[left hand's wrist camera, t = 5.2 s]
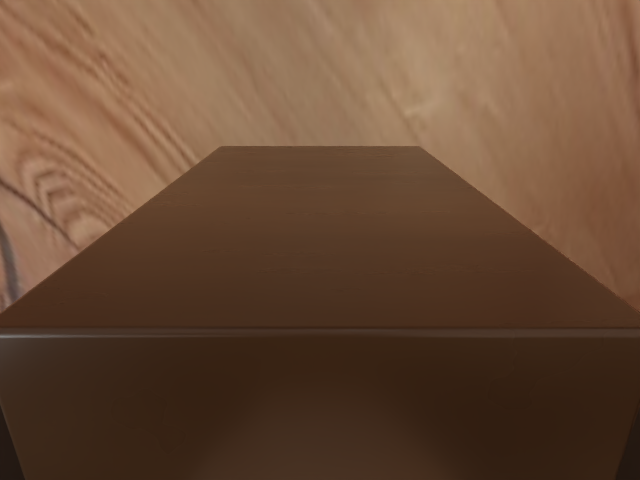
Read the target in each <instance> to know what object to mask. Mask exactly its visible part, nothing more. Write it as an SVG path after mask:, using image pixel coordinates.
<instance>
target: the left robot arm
mask: <svg viewBox="0 0 640 480" xmlns="http://www.w3.org/2000/svg"><path fill="white" fill-rule="evenodd" d="M0 480H25V478H24V475H23V472H22V469H21V466H20V463H19V460H18V457H17V454H16V451H15V448H14V445H13V442H12V439H11V436H10V433H9V430H8V427H7V424H6V421H5V418H4V415H3V412H2V409H1V406H0ZM616 480H640V408H639V411H638V414H637V417H636V420H635V423H634V426H633V429H632V432H631V435H630V438H629V441H628V444H627V447H626V450H625V453H624V456H623V459H622V462H621V465H620V468H619V471H618V474H617V477H616Z"/></svg>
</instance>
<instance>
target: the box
mask: <svg viewBox="0 0 640 480" xmlns="http://www.w3.org/2000/svg"><path fill="white" fill-rule="evenodd" d="M0 406H1V409H2V412H3V415H4V418H5V421H6V424H7V427H8V430H9V433H10V436H11V439H12V442H13V445H14V448H15V451H16V454H17V457H18V460H19V463H20V466H21V469H22V472H23V475H24V478H25V480H616V477H617V474H618V471H619V468H620V465H621V462H622V459H623V456H624V453H625V450H626V447H627V444H628V441H629V438H630V435H631V432H632V429H633V426H634V423H635V420H636V417H637V414H638V411H639V408H640V312H638V311H637V310H636V309H634V308H633V307H632V306H630V305H629V304H628V303H626V302H625V301H624V300H622V299H621V298H620V297H618V296H617V295H616V294H614V293H613V292H612V291H610V290H609V289H608V288H606V287H605V286H604V285H603V284H601V283H600V282H599V281H597V280H596V279H595V278H593V277H592V276H591V275H589V274H588V273H587V272H585V271H584V270H583V269H581V268H580V267H579V266H577V265H576V264H575V263H573V262H572V261H571V260H569V259H568V258H567V257H565V256H564V255H563V254H562V253H560V252H559V251H558V250H556V249H555V248H554V247H552V246H551V245H550V244H548V243H547V242H546V241H544V240H543V239H542V238H540V237H539V236H538V235H536V234H535V233H534V232H532V231H531V230H530V229H528V228H527V227H526V226H524V225H523V224H522V223H521V222H519V221H518V220H517V219H515V218H514V217H513V216H511V215H510V214H509V213H507V212H506V211H505V210H503V209H502V208H501V207H499V206H498V205H497V204H495V203H494V202H493V201H491V200H490V199H489V198H487V197H486V196H485V195H483V194H482V193H481V192H480V191H478V190H477V189H476V188H474V187H473V186H472V185H470V184H469V183H468V182H466V181H465V180H464V179H462V178H461V177H460V176H458V175H457V174H456V173H454V172H453V171H452V170H450V169H449V168H448V167H446V166H445V165H444V164H442V163H441V162H440V161H439V160H437V159H436V158H435V157H433V156H432V155H431V154H429V153H428V152H427V151H425V150H424V149H423V148H421V147H419V146H221V147H219V148H218V149H216V150H215V151H214V152H212V153H211V154H210V155H208V156H207V157H206V158H204V159H203V160H202V161H201V162H199V163H198V164H197V165H195V166H194V167H193V168H191V169H190V170H189V171H187V172H186V173H185V174H183V175H182V176H181V177H179V178H178V179H177V180H175V181H174V182H173V183H171V184H170V185H169V186H167V187H166V188H165V189H163V190H162V191H161V192H159V193H158V194H157V195H156V196H154V197H153V198H152V199H150V200H149V201H148V202H146V203H145V204H144V205H142V206H141V207H140V208H138V209H137V210H136V211H134V212H133V213H132V214H130V215H129V216H128V217H126V218H125V219H124V220H122V221H121V222H120V223H118V224H117V225H116V226H114V227H113V228H112V229H111V230H109V231H108V232H107V233H105V234H104V235H103V236H101V237H100V238H99V239H97V240H96V241H95V242H93V243H92V244H91V245H89V246H88V247H87V248H85V249H84V250H83V251H81V252H80V253H79V254H77V255H76V256H75V257H73V258H72V259H71V260H69V261H68V262H67V263H66V264H64V265H63V266H62V267H60V268H59V269H58V270H56V271H55V272H54V273H52V274H51V275H50V276H48V277H47V278H46V279H44V280H43V281H42V282H40V283H39V284H38V285H36V286H35V287H34V288H32V289H31V290H30V291H28V292H27V293H26V294H24V295H23V296H22V297H21V298H19V299H18V300H17V301H15V302H14V303H13V304H11V305H10V306H9V307H7V308H6V309H5V310H3V311H2V312H1V313H0Z"/></svg>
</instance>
